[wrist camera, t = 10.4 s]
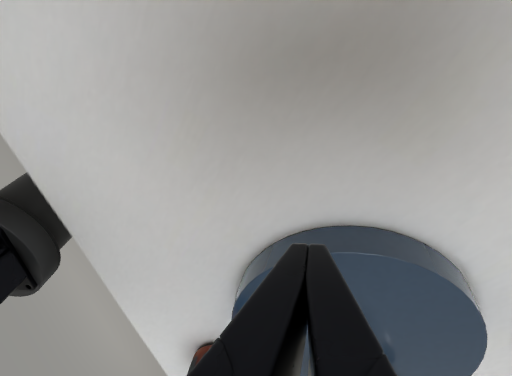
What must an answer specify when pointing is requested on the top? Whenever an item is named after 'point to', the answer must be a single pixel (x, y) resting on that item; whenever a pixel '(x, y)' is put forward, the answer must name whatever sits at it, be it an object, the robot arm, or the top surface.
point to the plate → (395, 298)
